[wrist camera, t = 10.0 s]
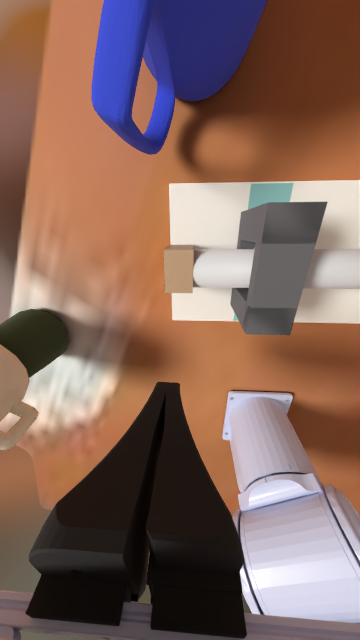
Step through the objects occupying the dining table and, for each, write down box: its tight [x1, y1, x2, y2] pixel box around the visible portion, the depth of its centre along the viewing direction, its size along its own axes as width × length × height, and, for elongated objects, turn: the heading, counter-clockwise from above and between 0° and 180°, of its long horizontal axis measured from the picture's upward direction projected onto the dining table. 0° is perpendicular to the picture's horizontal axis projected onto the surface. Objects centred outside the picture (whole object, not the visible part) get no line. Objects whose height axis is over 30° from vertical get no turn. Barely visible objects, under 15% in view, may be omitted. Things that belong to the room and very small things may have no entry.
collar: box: [230, 202, 328, 335], centre depth 14 cm, size 8×3×6 cm, turn 0°
